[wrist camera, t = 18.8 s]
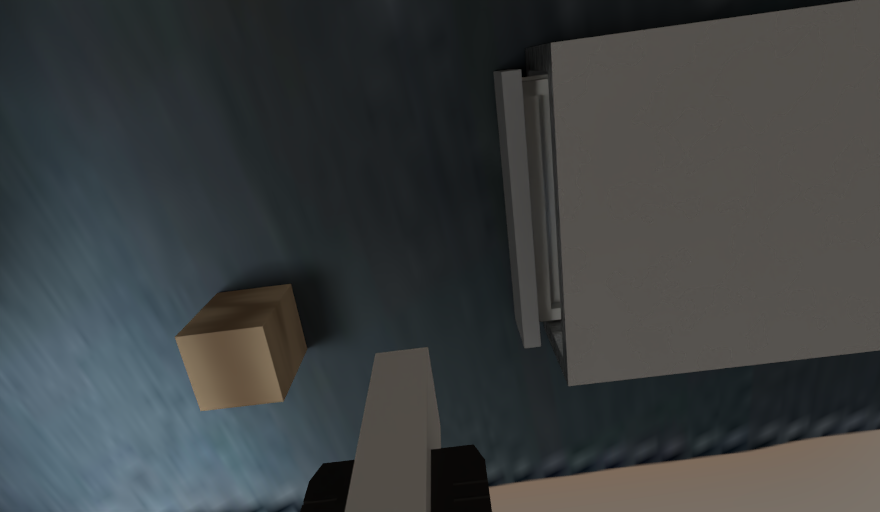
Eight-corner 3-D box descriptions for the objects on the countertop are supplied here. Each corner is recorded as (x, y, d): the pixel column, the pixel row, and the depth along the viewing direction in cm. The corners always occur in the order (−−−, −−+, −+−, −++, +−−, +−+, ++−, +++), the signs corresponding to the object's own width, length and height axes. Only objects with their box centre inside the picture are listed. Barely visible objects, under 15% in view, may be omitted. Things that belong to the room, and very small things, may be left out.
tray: (515, 319, 35) (524, 348, 31) (493, 71, 29) (501, 72, 26) (778, 287, 34) (818, 313, 31) (805, 28, 29) (858, 22, 25)
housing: (543, 327, 35) (568, 386, 29) (524, 48, 29) (550, 42, 23) (869, 288, 35) (970, 339, 28) (920, -7, 29) (1065, -29, 22)
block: (237, 357, 36) (200, 410, 30) (217, 292, 34) (175, 337, 29) (307, 349, 36) (283, 401, 30) (290, 283, 34) (262, 326, 29)
